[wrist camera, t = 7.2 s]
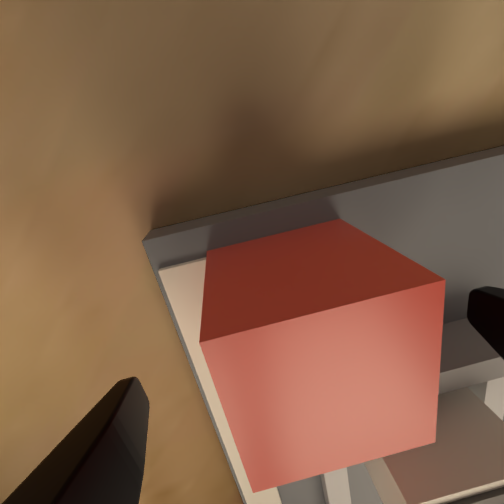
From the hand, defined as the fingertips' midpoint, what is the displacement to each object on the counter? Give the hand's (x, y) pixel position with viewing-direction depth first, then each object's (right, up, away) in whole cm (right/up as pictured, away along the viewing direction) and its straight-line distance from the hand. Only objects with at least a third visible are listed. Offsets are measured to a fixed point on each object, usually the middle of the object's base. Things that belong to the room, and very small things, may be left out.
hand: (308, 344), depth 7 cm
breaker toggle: (+5, -4, +5) cm, 8 cm away
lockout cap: (0, +1, +2) cm, 3 cm away
